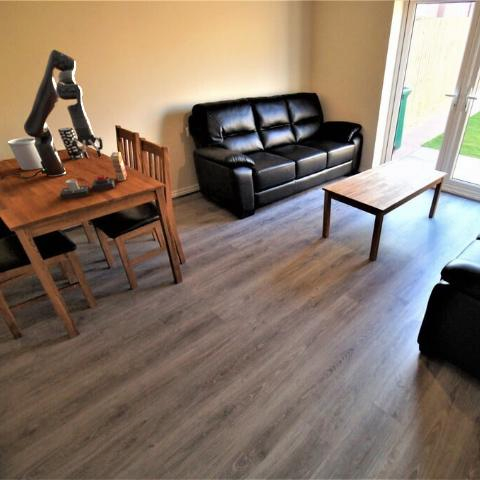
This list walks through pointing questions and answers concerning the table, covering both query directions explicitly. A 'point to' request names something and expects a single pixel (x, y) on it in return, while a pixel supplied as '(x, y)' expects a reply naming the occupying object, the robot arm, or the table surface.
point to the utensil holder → (25, 153)
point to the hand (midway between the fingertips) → (93, 157)
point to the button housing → (103, 184)
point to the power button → (101, 177)
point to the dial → (72, 185)
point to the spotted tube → (70, 143)
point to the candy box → (118, 166)
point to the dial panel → (75, 192)
